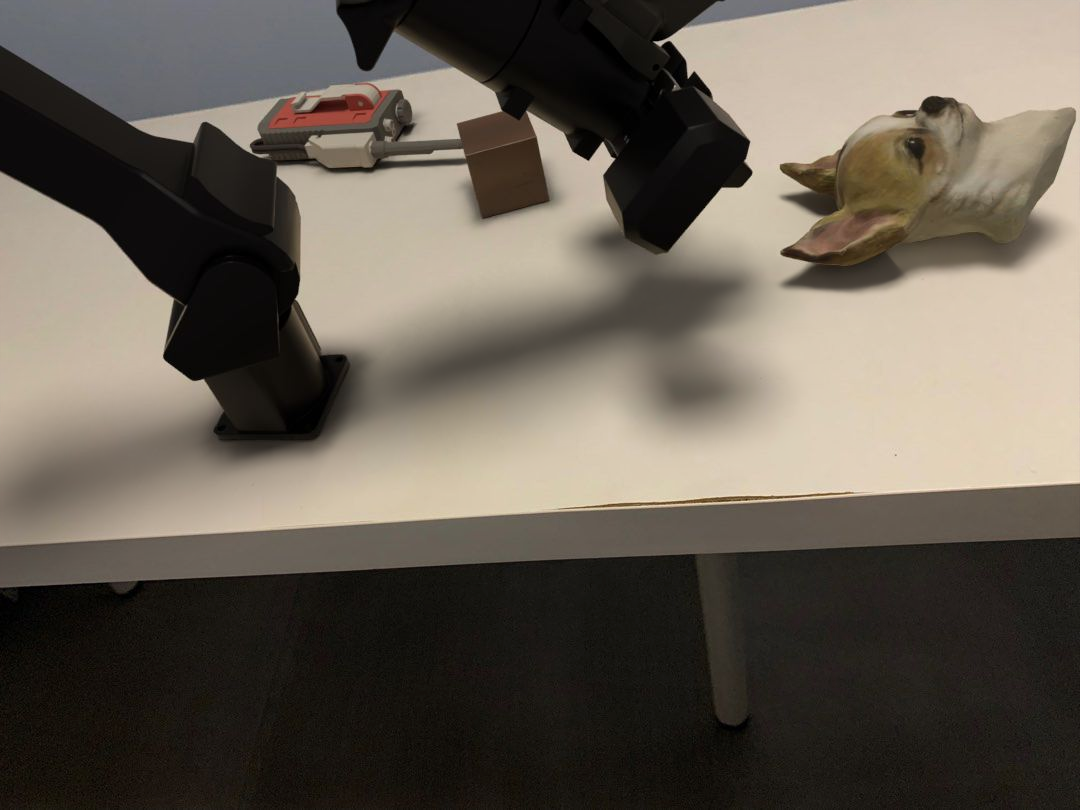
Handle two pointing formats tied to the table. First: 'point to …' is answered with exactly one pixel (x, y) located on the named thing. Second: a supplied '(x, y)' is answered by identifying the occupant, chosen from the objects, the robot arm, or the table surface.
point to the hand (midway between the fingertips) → (745, 177)
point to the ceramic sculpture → (930, 179)
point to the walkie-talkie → (342, 127)
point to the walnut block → (503, 162)
